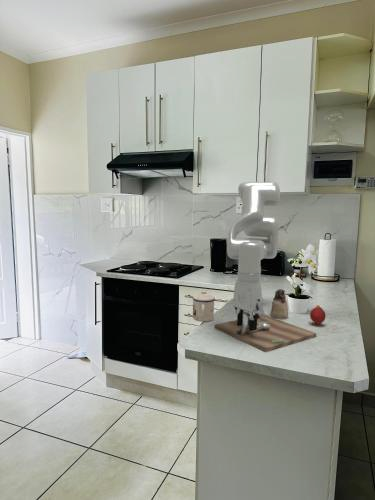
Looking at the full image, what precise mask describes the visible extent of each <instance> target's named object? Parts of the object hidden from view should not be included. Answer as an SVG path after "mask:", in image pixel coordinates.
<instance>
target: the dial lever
mask: <svg viewBox="0 0 375 500" xmlns="http://www.w3.org/2000/svg"><path fill="white" fill-rule="evenodd" d="M249 320H251V317H250V312H247V311H244V312H243V324H242V330H239V331H237V332H236V334H238V335H239V334H245V333H246V334H249V333H251V332H253V331H249ZM261 329H265V330H267V329H270V323H268V322H259V325H258V326H257V329H256V330H254V331H257V330H261Z"/></svg>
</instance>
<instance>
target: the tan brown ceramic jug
mask: <svg viewBox="0 0 375 500" xmlns="http://www.w3.org/2000/svg"><path fill="white" fill-rule="evenodd" d="M285 293H286V290H285V289H283V288H279V289H277V290H276V291H275V292H274V297H273V298H272V300H273V301H272V304H271V310H270V317H272V318H274V319H277V320H285V319H288V318H289V308H288V302H287V300H286V294H285Z"/></svg>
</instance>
